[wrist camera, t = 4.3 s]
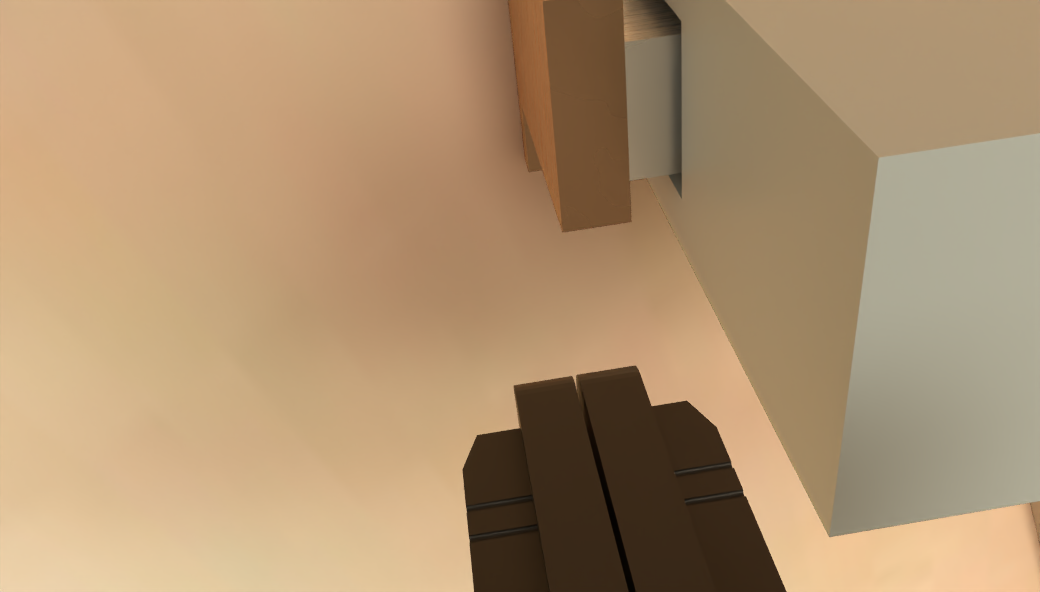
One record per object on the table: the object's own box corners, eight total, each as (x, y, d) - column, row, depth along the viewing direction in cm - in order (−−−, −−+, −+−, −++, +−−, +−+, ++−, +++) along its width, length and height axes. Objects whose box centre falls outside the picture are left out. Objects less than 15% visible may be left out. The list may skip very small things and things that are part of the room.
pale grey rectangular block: (624, 135, 25) (829, 537, 14) (614, -113, 22) (879, 158, 10) (808, 108, 26) (1156, 480, 14) (828, -143, 22) (1313, 91, 11)
